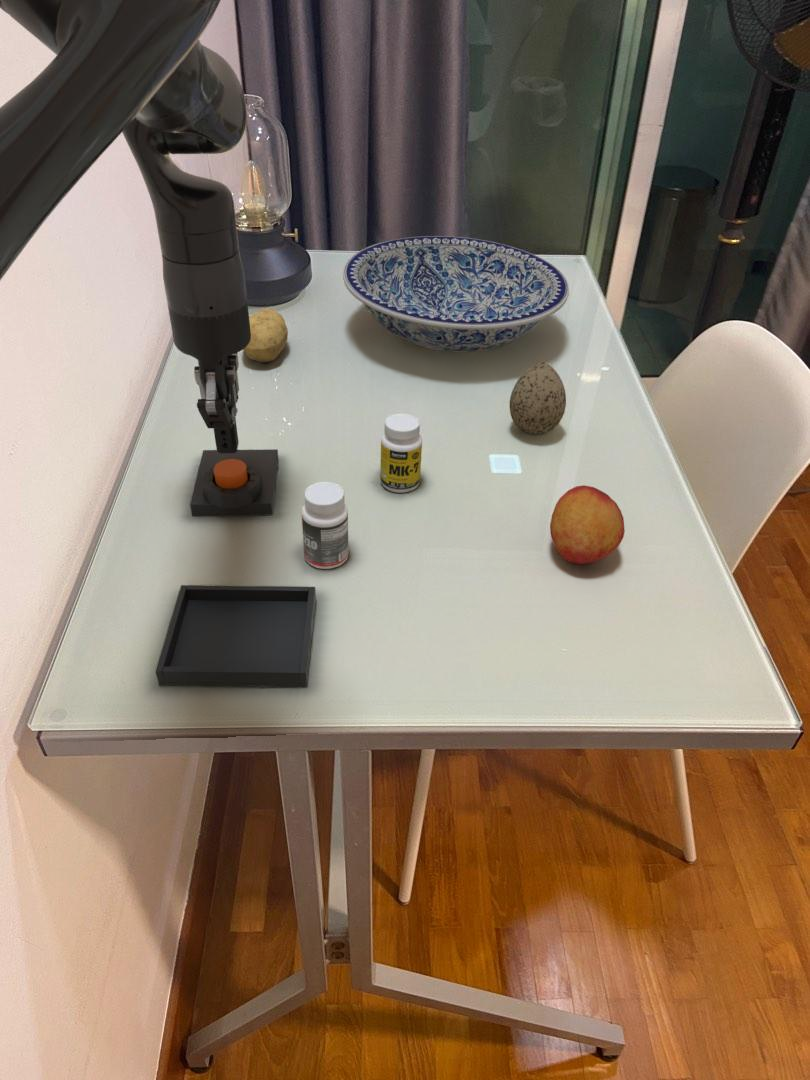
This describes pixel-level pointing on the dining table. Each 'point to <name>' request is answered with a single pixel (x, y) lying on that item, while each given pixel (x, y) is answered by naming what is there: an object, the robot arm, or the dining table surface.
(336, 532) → the pill bottle
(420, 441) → the supplement bottle
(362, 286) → the ceramic bowl
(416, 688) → the dining table surface
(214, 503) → the black button base
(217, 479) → the timer button
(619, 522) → the fruit
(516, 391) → the decorative egg
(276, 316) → the potato
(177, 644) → the shallow black tray
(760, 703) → the dining table surface
